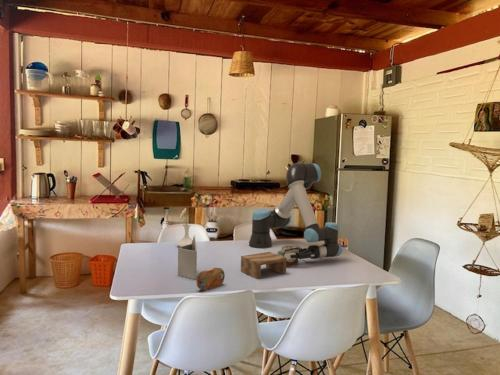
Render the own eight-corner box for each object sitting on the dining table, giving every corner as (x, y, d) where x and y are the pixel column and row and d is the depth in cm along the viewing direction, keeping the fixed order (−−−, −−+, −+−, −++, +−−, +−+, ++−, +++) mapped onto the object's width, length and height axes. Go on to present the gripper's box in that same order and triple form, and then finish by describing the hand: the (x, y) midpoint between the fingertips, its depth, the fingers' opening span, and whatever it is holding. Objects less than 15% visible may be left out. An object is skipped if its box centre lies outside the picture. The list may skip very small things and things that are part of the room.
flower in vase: (180, 244, 258) (181, 205, 256) (197, 245, 257) (198, 206, 254) (173, 248, 245) (174, 208, 243) (191, 250, 244) (192, 209, 241)
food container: (291, 261, 224) (291, 244, 223) (299, 264, 219) (299, 245, 218) (275, 265, 216) (275, 247, 215) (284, 268, 211) (284, 249, 210)
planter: (176, 270, 202) (177, 232, 200) (192, 269, 204) (193, 232, 202) (179, 280, 186) (179, 239, 184) (196, 279, 188) (197, 239, 187)
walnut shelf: (240, 271, 203) (241, 256, 202) (268, 266, 213) (269, 251, 212) (257, 279, 191) (257, 262, 191) (285, 273, 202) (286, 257, 201)
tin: (199, 292, 171) (200, 273, 170) (194, 290, 173) (195, 271, 172) (224, 284, 182) (225, 266, 182) (220, 283, 184) (220, 265, 184)
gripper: (327, 262, 215) (290, 266, 205) (306, 253, 233) (271, 257, 223) (327, 248, 215) (290, 252, 205) (306, 241, 233) (272, 244, 223)
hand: (280, 255), depth 214 cm, fingers closed on food container, 7 cm apart
